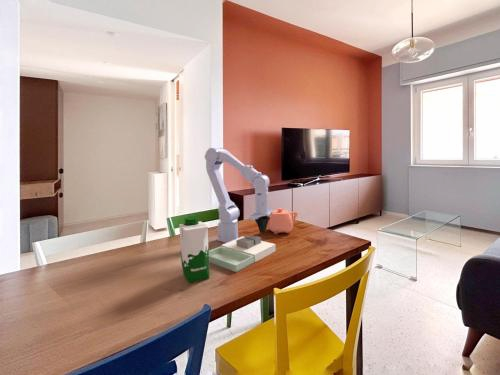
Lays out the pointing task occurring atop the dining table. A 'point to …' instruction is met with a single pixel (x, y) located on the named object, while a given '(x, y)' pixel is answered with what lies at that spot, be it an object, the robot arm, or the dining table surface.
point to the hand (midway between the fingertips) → (262, 232)
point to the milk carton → (194, 249)
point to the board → (253, 249)
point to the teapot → (281, 221)
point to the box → (230, 259)
